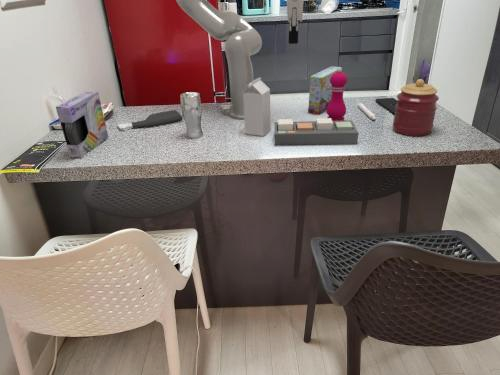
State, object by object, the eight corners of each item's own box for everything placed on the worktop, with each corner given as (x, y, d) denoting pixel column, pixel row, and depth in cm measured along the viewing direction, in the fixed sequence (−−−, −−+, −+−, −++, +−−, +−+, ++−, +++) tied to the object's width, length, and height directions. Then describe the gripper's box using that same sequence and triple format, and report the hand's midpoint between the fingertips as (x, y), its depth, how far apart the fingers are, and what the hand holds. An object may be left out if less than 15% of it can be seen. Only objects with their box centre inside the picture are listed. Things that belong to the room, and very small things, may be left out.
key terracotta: (297, 138, 126) (297, 128, 124) (296, 133, 130) (297, 122, 128) (312, 138, 125) (312, 127, 123) (311, 133, 130) (311, 122, 128)
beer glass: (196, 130, 140) (191, 90, 132) (208, 134, 135) (203, 93, 128) (181, 136, 136) (175, 95, 128) (192, 140, 131) (187, 98, 124)
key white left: (278, 135, 125) (278, 124, 124) (278, 129, 130) (278, 119, 128) (293, 134, 125) (293, 123, 123) (292, 129, 129) (292, 119, 128)
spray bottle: (184, 122, 150) (122, 135, 141) (176, 115, 159) (117, 127, 149) (183, 115, 149) (120, 128, 139) (175, 108, 157) (115, 120, 148)
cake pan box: (81, 160, 121) (65, 106, 112) (67, 159, 122) (50, 106, 113) (110, 138, 137) (99, 90, 129) (98, 137, 138) (85, 90, 129)
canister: (385, 131, 130) (392, 80, 122) (401, 121, 138) (409, 73, 130) (423, 139, 122) (433, 85, 114) (437, 128, 131) (448, 77, 122)
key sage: (336, 137, 125) (337, 127, 123) (334, 132, 129) (335, 122, 127) (351, 137, 124) (352, 126, 122) (349, 132, 129) (350, 121, 127)
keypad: (274, 145, 124) (274, 133, 122) (274, 132, 134) (274, 121, 132) (357, 144, 122) (358, 132, 120) (350, 131, 132) (351, 119, 130)
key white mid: (317, 134, 124) (317, 123, 123) (315, 129, 129) (316, 118, 127) (332, 133, 124) (333, 123, 122) (330, 128, 128) (331, 118, 127)
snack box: (320, 115, 149) (322, 77, 141) (307, 113, 152) (308, 76, 144) (340, 101, 164) (342, 66, 157) (328, 100, 167) (330, 65, 159)
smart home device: (394, 112, 144) (374, 98, 161) (393, 116, 145) (374, 102, 162) (415, 111, 144) (393, 97, 162) (414, 115, 145) (392, 101, 162)
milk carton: (270, 130, 137) (269, 77, 128) (263, 136, 131) (261, 82, 122) (253, 127, 140) (251, 76, 130) (245, 134, 134) (242, 81, 125)
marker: (377, 121, 140) (377, 115, 139) (371, 122, 140) (372, 115, 139) (362, 107, 156) (362, 102, 155) (357, 107, 156) (357, 102, 155)
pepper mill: (345, 125, 137) (350, 70, 128) (325, 125, 139) (328, 70, 129) (345, 119, 143) (349, 65, 134) (326, 118, 145) (329, 65, 135)
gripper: (307, -16, 115) (304, 46, 124) (305, -17, 128) (303, 40, 137) (283, -16, 116) (282, 47, 125) (283, -17, 129) (282, 40, 138)
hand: (293, 43), depth 131 cm, fingers closed
